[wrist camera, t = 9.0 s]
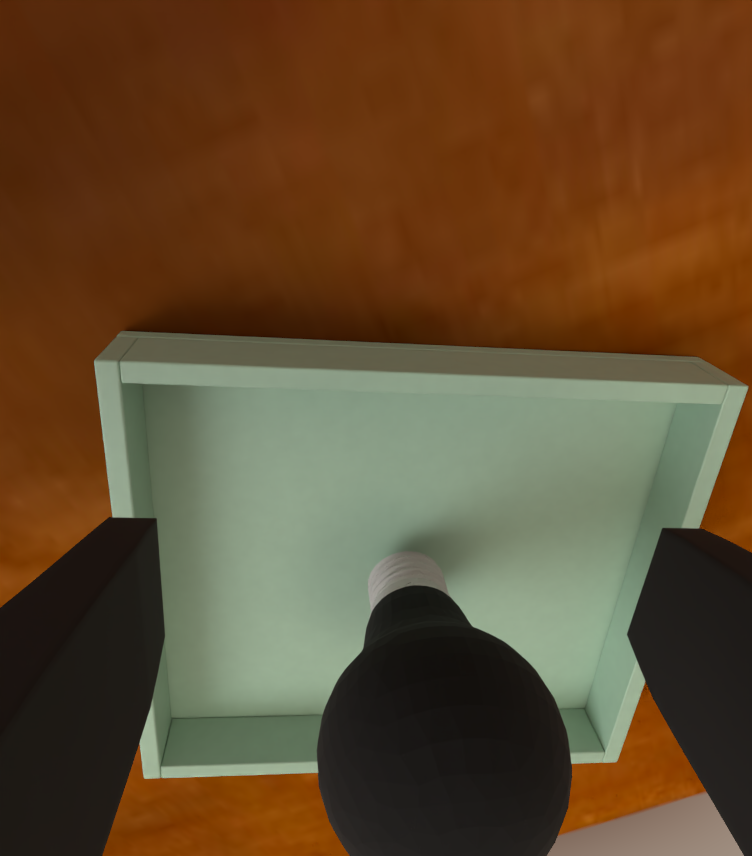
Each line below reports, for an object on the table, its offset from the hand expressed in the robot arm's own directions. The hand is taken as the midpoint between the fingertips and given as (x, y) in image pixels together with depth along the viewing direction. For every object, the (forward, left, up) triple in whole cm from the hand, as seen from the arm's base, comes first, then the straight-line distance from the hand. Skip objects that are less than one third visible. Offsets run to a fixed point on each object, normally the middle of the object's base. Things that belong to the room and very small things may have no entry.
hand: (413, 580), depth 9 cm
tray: (+2, -7, -10) cm, 13 cm away
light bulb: (+2, -7, -10) cm, 13 cm away
